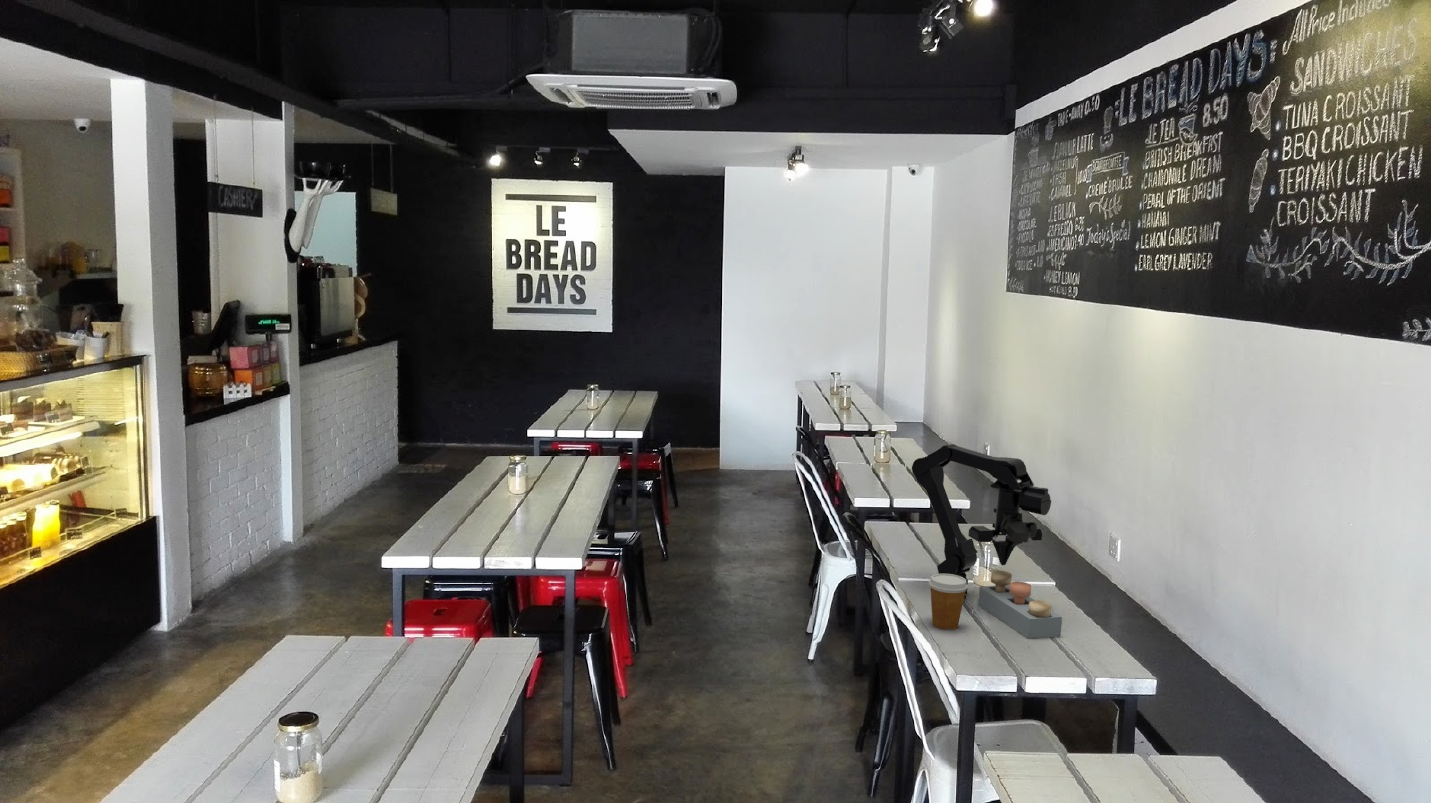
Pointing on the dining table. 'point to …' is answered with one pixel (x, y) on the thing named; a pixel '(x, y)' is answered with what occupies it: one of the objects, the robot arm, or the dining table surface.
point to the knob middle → (1020, 591)
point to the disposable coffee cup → (947, 599)
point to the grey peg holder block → (1018, 614)
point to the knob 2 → (1040, 608)
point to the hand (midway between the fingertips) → (1002, 564)
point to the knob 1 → (1000, 580)
